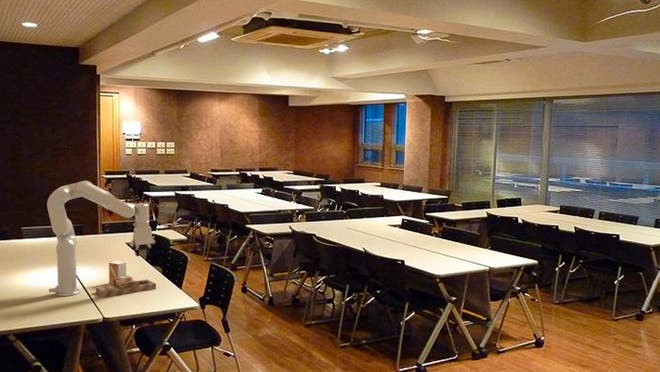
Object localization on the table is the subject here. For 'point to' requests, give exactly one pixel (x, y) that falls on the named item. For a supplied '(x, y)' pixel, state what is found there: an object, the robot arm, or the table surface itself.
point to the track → (125, 288)
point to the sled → (121, 282)
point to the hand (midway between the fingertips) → (142, 255)
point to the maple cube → (125, 279)
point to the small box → (116, 270)
